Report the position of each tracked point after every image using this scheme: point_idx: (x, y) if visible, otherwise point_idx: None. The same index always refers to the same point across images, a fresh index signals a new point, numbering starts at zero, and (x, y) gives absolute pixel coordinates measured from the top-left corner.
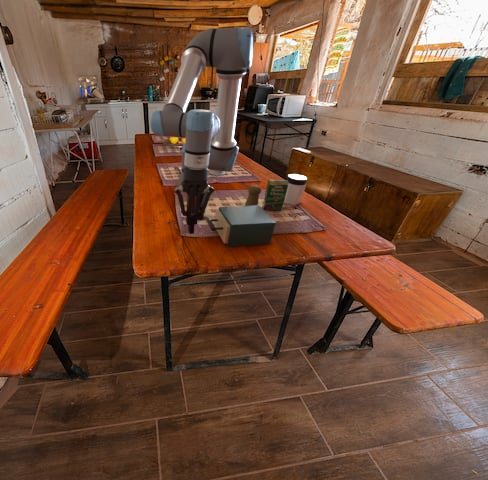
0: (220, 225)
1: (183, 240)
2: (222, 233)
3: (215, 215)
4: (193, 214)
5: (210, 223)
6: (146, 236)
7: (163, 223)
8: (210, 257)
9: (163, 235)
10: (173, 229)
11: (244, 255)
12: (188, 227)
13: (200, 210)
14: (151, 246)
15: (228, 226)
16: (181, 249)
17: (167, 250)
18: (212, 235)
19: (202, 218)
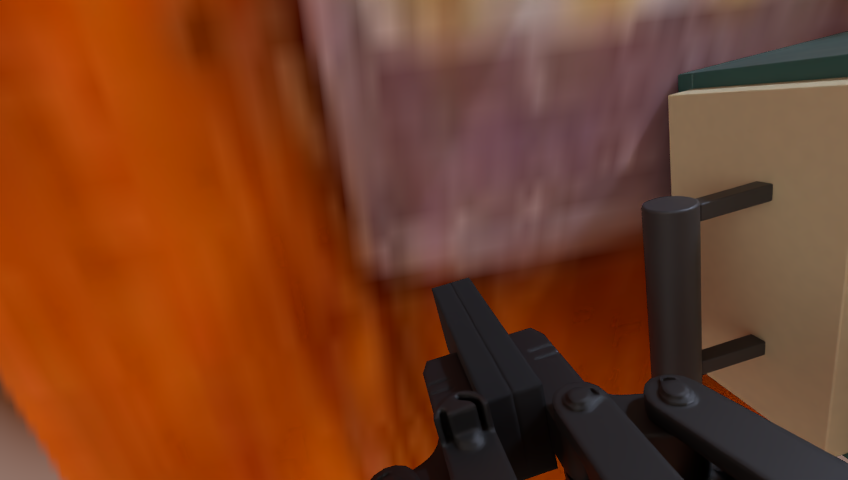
0: (752, 278)
1: (391, 335)
2: (716, 326)
3: (781, 95)
4: (541, 395)
5: (678, 323)
6: (49, 341)
7: (136, 57)
8: (560, 467)
9: (207, 296)
10: (280, 177)
11: (745, 407)
12: (440, 310)
13: (684, 460)
14: (155, 457)
15: (836, 456)
16: (385, 438)
17: (289, 469)
18: (617, 224)
19: None
